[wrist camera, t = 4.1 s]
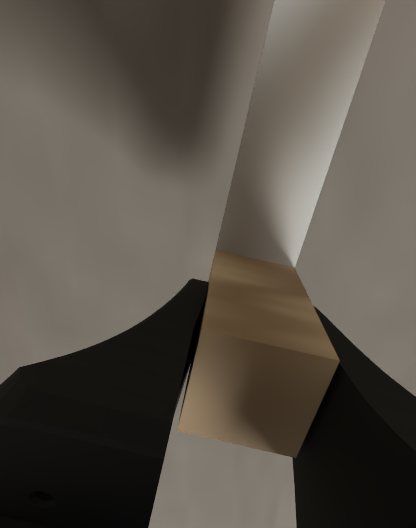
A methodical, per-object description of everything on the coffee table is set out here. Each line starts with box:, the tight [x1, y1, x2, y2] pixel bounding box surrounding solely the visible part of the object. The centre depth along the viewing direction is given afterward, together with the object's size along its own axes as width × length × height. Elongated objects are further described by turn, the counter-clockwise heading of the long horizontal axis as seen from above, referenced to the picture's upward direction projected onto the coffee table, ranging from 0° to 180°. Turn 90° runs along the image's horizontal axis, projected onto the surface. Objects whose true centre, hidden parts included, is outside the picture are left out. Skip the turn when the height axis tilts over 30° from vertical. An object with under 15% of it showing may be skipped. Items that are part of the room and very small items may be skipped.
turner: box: [177, 0, 386, 458], centre depth 8 cm, size 3×13×6 cm, turn 168°
